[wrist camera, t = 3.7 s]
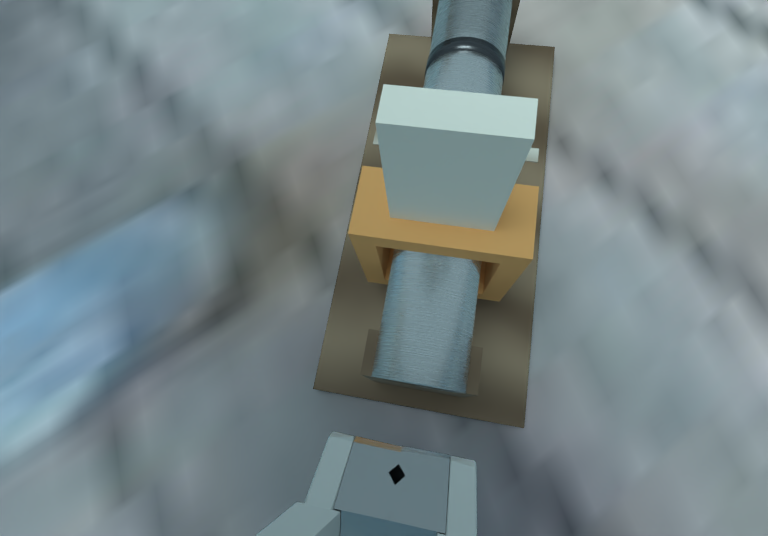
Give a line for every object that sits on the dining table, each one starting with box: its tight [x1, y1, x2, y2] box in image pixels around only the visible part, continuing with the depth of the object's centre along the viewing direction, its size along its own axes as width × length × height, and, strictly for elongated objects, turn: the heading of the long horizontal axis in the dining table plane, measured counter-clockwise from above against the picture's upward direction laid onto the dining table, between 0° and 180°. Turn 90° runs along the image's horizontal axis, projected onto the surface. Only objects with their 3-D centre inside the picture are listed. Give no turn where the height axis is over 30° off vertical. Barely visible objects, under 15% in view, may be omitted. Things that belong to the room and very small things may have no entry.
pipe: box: [371, 0, 512, 394], centre depth 22 cm, size 24×4×4 cm, turn 170°
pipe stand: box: [313, 0, 555, 428], centre depth 26 cm, size 26×12×8 cm, turn 170°
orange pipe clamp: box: [348, 84, 539, 302], centre depth 17 cm, size 3×7×13 cm, turn 80°
